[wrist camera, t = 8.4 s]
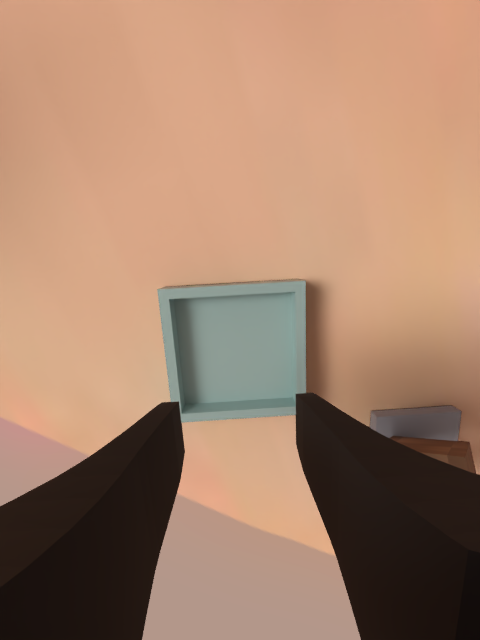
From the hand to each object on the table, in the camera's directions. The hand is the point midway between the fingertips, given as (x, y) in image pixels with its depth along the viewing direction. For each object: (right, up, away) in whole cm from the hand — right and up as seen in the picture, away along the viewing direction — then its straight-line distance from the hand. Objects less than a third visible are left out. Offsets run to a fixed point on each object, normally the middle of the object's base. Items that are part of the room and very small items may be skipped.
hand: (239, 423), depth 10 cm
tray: (0, +2, +9) cm, 9 cm away
